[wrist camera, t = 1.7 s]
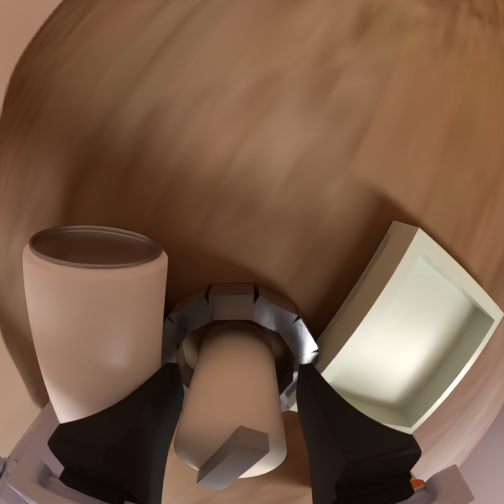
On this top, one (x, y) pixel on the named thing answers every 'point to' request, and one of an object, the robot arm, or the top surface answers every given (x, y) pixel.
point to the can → (94, 313)
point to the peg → (232, 408)
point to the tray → (405, 331)
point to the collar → (240, 308)
